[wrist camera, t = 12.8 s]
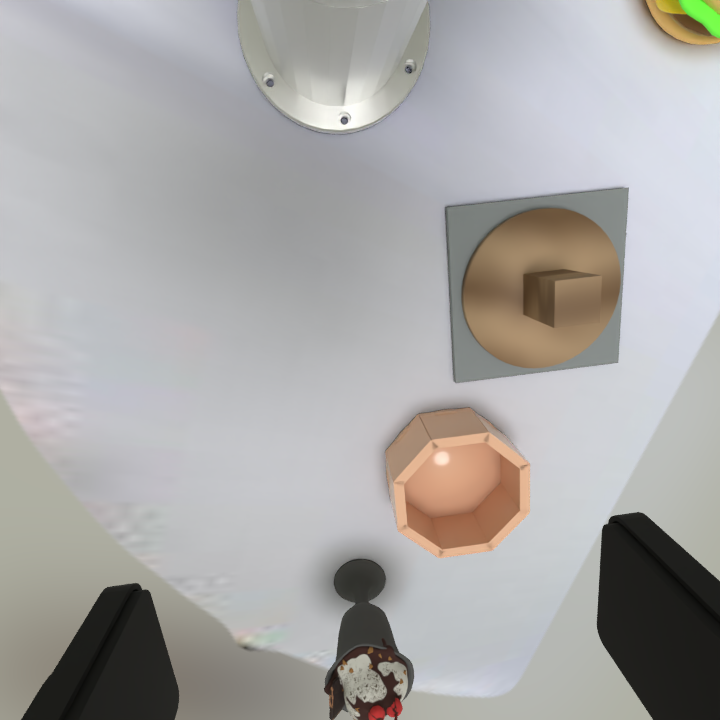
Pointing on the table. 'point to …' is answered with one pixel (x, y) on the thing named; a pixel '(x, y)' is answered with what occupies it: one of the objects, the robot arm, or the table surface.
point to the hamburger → (688, 19)
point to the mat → (476, 224)
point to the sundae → (366, 651)
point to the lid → (541, 287)
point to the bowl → (456, 483)
